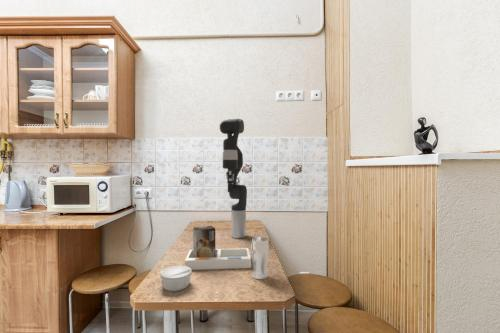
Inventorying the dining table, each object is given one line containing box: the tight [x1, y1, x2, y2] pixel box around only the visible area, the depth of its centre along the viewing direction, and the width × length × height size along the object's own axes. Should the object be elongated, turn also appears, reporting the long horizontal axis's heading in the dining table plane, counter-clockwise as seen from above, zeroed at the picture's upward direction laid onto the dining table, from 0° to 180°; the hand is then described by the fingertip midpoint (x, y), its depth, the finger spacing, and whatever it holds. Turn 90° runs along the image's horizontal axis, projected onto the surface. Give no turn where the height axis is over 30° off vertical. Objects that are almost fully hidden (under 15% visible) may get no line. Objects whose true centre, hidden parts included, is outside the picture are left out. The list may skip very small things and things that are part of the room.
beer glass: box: [250, 236, 270, 281], centre depth 99 cm, size 7×7×15 cm
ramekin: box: [160, 265, 193, 292], centre depth 91 cm, size 11×11×5 cm
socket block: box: [184, 247, 252, 271], centre depth 114 cm, size 14×28×4 cm, turn 95°
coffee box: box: [192, 225, 216, 258], centre depth 114 cm, size 9×6×16 cm
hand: (229, 191), depth 124 cm, fingers open, 8 cm apart
